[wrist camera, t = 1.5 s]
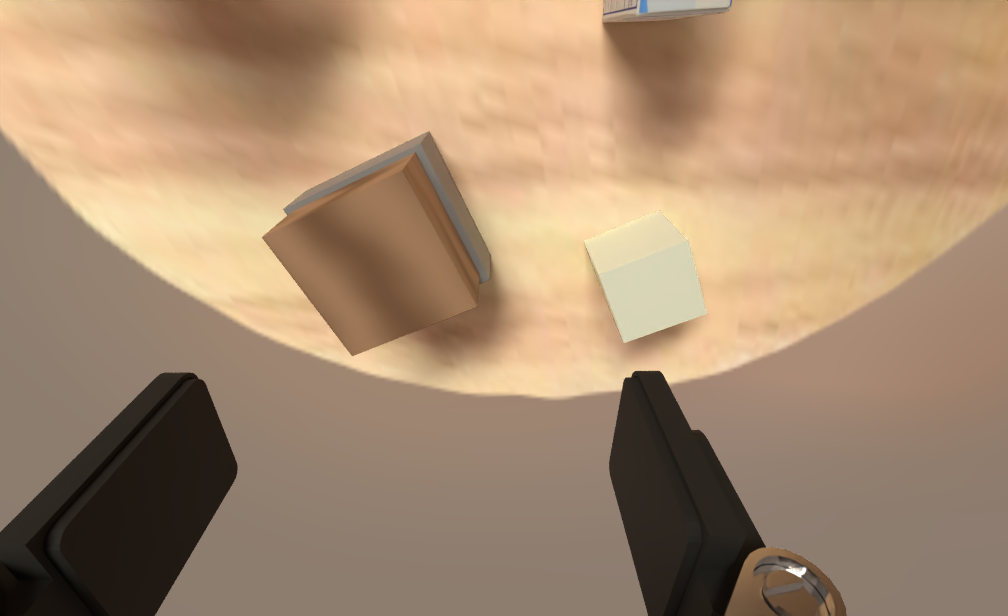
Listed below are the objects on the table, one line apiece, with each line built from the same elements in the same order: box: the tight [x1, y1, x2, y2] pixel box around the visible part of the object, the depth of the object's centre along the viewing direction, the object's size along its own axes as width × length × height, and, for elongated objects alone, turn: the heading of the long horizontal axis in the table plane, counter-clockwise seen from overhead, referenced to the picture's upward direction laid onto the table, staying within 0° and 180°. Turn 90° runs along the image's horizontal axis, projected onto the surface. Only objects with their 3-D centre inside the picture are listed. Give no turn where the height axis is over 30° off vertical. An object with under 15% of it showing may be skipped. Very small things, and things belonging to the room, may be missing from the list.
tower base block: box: [283, 131, 491, 284], centre depth 33 cm, size 10×10×4 cm
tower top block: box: [262, 152, 480, 356], centre depth 29 cm, size 9×9×4 cm
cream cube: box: [584, 210, 707, 343], centre depth 34 cm, size 6×6×6 cm
